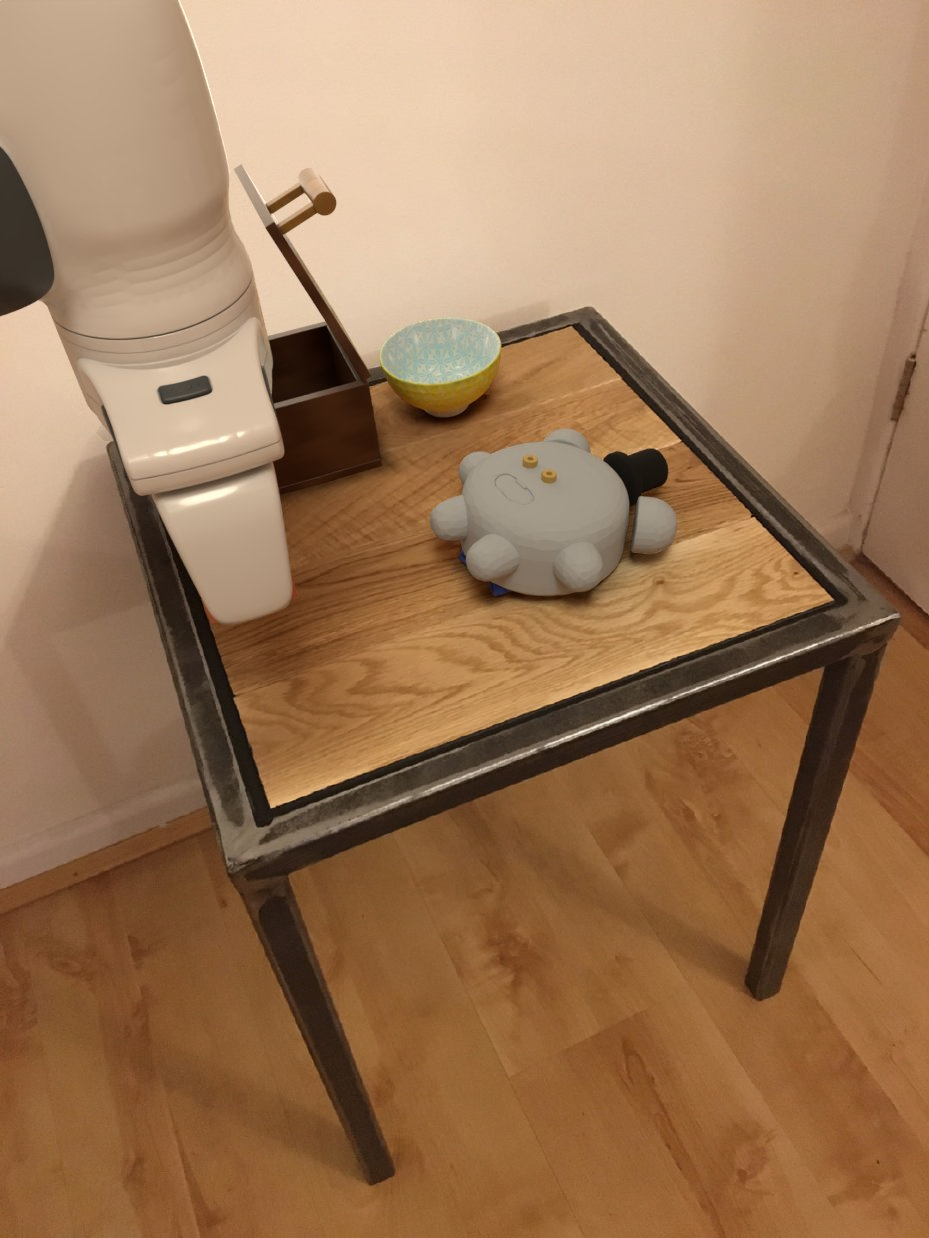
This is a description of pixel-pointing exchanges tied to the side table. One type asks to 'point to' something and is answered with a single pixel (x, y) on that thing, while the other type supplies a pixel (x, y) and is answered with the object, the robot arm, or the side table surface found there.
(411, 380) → the bowl
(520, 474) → the figurine
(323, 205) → the lid
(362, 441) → the chest
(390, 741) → the side table surface
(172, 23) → the robot arm
